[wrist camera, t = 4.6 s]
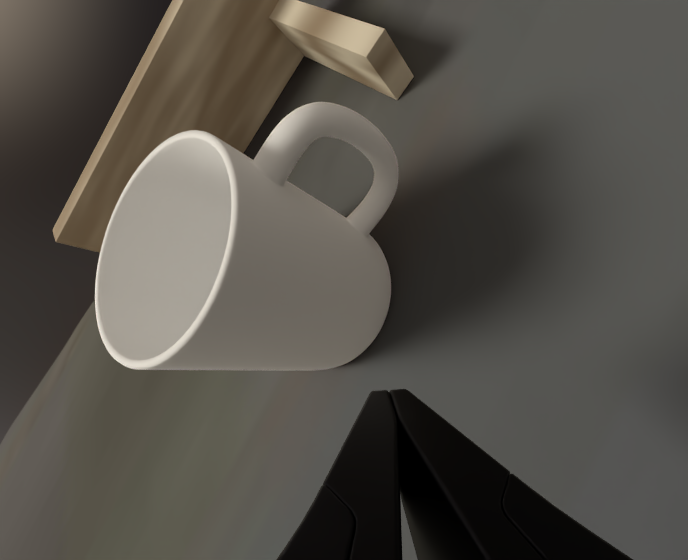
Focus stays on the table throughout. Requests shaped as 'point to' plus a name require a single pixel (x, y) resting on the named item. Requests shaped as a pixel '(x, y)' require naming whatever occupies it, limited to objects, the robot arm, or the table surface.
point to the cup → (245, 255)
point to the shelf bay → (218, 88)
